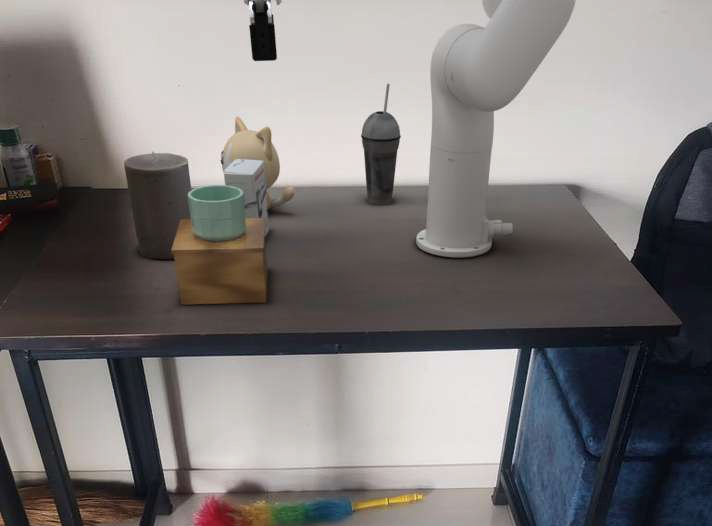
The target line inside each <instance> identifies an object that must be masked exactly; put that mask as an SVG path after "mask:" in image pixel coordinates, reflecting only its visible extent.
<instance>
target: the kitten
mask: <svg viewBox="0 0 712 526" xmlns="http://www.w3.org/2000/svg"><path fill="white" fill-rule="evenodd" d="M220 153H221V154H220V156H221V157H220V160H219V161H220V164H221V168H222V172H223V174H224V170H225V169H226V168H227V167H228V166H229V165H230V164H231V163H232V162H233V161H234V160H235V159H247V160H261V161H264V171H265V185H266V199H267V211H269V209H270V208H279V207H281V206H283V205H284V204H286V203H288V202H289V201H291V200H292V199H293V198H294V196H295V192H296V191H295V188H294V187H293V186H292V185H287V186H286V187H285V188H284V190H283V192H282V194H281V196H280V197H277V198H273V199H272V196H271V194H270V193H269V190H268V189H270V188H271V187H272V186H273V185H274V184H275V183H276V182H277V180H278V178H279V176H280V173H281V163H280V158H279V154H278V151H277V149H276V147H275V145H274V144H273V142H272V129H271V128H270V127H269V126H265V127H262V128H261V129H260V130H258V131H256V130H252V129H251V130H250V129H248V127H247V125H246V124H245V123H244V121H243V120H242V119H241V117H240V116H236V117H235V119H234V134H232V135H231V136H230V137H229V138H228V139H227V140H226V143H225V144H224V147H223V149H222V151H221V152H220Z"/></svg>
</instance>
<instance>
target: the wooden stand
mask: <svg viewBox="0 0 712 526" xmlns="http://www.w3.org/2000/svg"><path fill="white" fill-rule="evenodd" d="M171 251H172V254H174V259H173V260H174V266H175V272H176V278H177V285H178V291H179V292H178V293H179V298H180V304H181V305H182V306H185V305H216V304H217V305H218V304H253V303H256V304H257V303H258V304H259V303H267V298H268V297H267V295H268V261H267V247H266V236H265V218H246V230H245V231H244V232H243V234H242V235H241V236H240V237H238V238H235V239H231V240H226V241H209V240H204V239H201V238H199V237H198V236H197V235H196V234H195V233H194V232H193V231H192V224H191V219H181V220H180V223H179V226H178V230H177V233H176V236H175V240H174V243H173V246H172V250H171Z"/></svg>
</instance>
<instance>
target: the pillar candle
mask: <svg viewBox="0 0 712 526" xmlns="http://www.w3.org/2000/svg"><path fill="white" fill-rule="evenodd" d="M123 166H124V172H125V179H126V185H127V191H128V196H129V201H130V202H129V203H130V207H131V211H132V216H133V217H132V218H133V222H134V228H135V230H134V231H135V236H136V239H137V244H138V248H139V249H138V252H139V254H140V255H141V256H142V257H145V258H147V259H152V260H153V259H154V260H175V259H174V254H172V251H171V250H172V246H173V243H174V240H175V236H176V233H177V230H178V226H179V223H180V220H181V219H191V217H190V210H189V202H188V192H190V191H191V190H192V183H191V176H190V175H191V174H190V167H189V159H188V158H187V157H185V156H182V155H180V154H174V153H170V152H156V153H155V151H151V153H144V154H143V153H142V154H138V155H134V156H131V157H127V158H126V159H125V160H124V161H123Z"/></svg>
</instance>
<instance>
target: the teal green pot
mask: <svg viewBox="0 0 712 526" xmlns="http://www.w3.org/2000/svg"><path fill="white" fill-rule="evenodd" d="M188 202H189V210H190V217H191V224H192V231H193V232H194V233H195V234H196V235H197V236H198V237H199V238H201V239H204V240H209V241H226V240H231V239H235V238H238V237H240V236H241V235H242V234H243V232H244V231H245V230H246V216H245V205H244V194H243V191H242V190H241V189H240V188H237V187H233V186H226V185H225V184H213V185H204V186H199V187H196V188H193V189H191V191H190V192H188Z"/></svg>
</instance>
